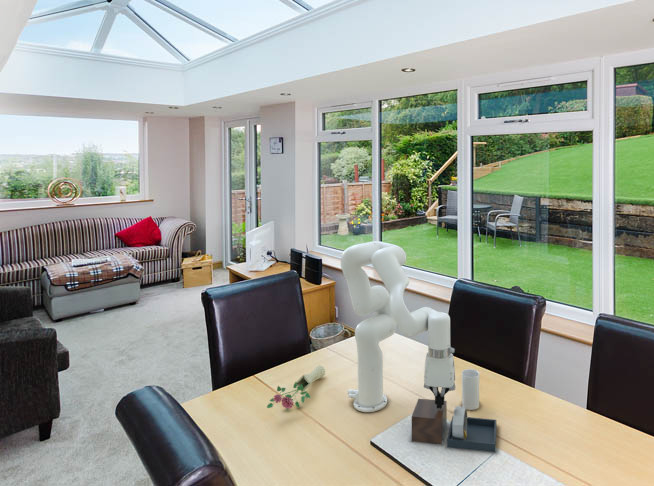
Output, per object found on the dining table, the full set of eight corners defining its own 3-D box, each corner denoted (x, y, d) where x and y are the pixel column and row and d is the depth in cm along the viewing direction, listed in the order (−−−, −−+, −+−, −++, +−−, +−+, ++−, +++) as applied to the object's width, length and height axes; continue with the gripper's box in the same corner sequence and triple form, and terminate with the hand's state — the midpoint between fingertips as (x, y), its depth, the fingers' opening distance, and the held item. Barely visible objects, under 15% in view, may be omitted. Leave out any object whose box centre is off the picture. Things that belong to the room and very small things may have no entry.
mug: (477, 412, 155) (476, 378, 155) (459, 408, 157) (459, 375, 158) (483, 398, 164) (483, 366, 165) (467, 395, 167) (466, 364, 167)
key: (465, 439, 137) (466, 439, 138) (465, 432, 138) (467, 432, 138) (457, 431, 142) (458, 431, 142) (458, 424, 142) (459, 424, 142)
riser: (411, 441, 139) (411, 416, 139) (418, 421, 149) (418, 398, 150) (441, 444, 137) (441, 419, 137) (446, 424, 148) (446, 400, 148)
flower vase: (325, 398, 179) (291, 428, 145) (299, 387, 181) (259, 415, 147) (335, 369, 182) (304, 392, 148) (309, 359, 183) (273, 379, 150)
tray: (447, 447, 136) (447, 439, 136) (452, 422, 149) (452, 415, 149) (495, 452, 133) (495, 444, 133) (496, 427, 146) (496, 419, 146)
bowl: (451, 424, 134) (462, 426, 134) (456, 399, 143) (466, 401, 142) (453, 446, 137) (464, 447, 136) (457, 420, 146) (467, 421, 145)
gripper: (462, 347, 146) (463, 402, 145) (419, 345, 148) (420, 398, 148) (460, 357, 139) (460, 414, 138) (415, 354, 141) (415, 410, 140)
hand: (439, 406), depth 143 cm, fingers closed
